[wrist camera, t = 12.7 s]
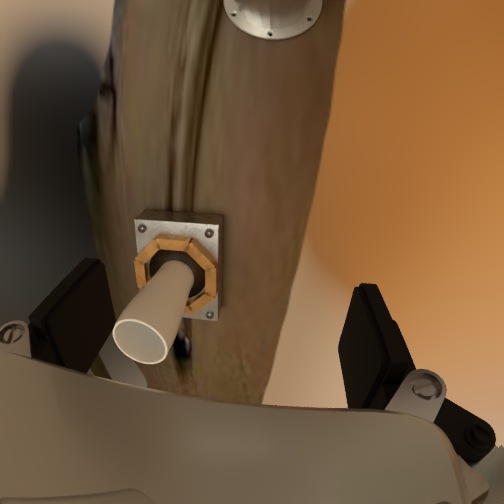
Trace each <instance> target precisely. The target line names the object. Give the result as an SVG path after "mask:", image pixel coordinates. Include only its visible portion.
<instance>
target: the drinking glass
mask: <svg viewBox="0 0 504 504" xmlns="http://www.w3.org/2000/svg"><path fill="white" fill-rule="evenodd" d="M193 284H194V275H193V272H192V270H191V269H190V267H189V266H188V265H186V264H185V263H183V262H181V261H178V260H170V261H167V262H165V263H164V264H163V265H162V266H161V267H160V269H159V270H158V271H157V272H156V274H155V275H154V276H153V277H152V278H151V279H150V280H149V281H148V282H147V284H146V285H145V286H144V287H143V288H142V289H141V290H140V291H139V292H138V293H137V295H136V296H135V297H134V298H133V299H132V300H131V301H130V303H129V304H128V305H127V306H126V308H125V309H124V311H123V312H122V314H121V315H120V317H119V319H118V320H117V322H116V324H115V326H114V328H113V338H114V340H115V343H116V344H117V346H118V347H119V348H120V350H121V351H122V352H123V353H124V354H126V355H127V356H128V357H130V358H132V359H133V360H135V361H138V362H141V363H145V364H155V363H159V362H161V361H163V360H164V359H165V358H166V356H167V354H168V352H169V350H170V348H171V346H172V344H173V342H174V340H175V337H176V335H177V332H178V329H179V326H180V323H181V319H182V316H183V312H184V309H185V306H186V303H187V300H188V296H189V293H190V290H191V288H192V286H193Z"/></svg>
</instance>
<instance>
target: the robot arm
mask: <svg viewBox="0 0 504 504" xmlns="http://www.w3.org/2000/svg"><path fill="white" fill-rule="evenodd" d="M224 7H225V11H226V13H227V15H228V17H229V19H230V20H231V21H232V23H233V24H234V25H235V26H236V27H237V28H238V29H240V30H241V31H243V32H244V33H246V34H248V35H250V36H252V37H255V38H259V39H262V40H271V41H277V40H286V39H290V38H293V37H296V36H299V35H301V34H302V33H304V32H305V31H307V30H308V29H309V28H310V27H311V26H313V24H314V23H315V22H316V20H317V19H318V17H319V15H320V12H321V9H322V0H224ZM234 14H236V16H235V17H233V15H234ZM307 19H311V21H308V20H307ZM270 33H271V34H273V36H269V34H270ZM28 318H29V320H30V324H29V325H27V324H26V323H25V322H22V321H11V322H9V323H6V324H5V325H3V326H2V327H1V328H0V504H504V448H503V446H502V445H501V446H500V447H499V448H498V447H497V446H496V445H495V441H496V437H495V433H494V430H493V428H492V427H491V426H490V425H489V424H488V423H487V422H485V421H484V420H482V419H480V418H479V417H477V416H475V415H474V414H472V413H470V412H468V411H467V410H465V409H463V408H462V407H460V406H458V405H457V404H455V403H453V402H452V401H450V400H448V399H447V398H445V396H446V391H447V390H446V385H445V383H444V381H443V380H442V379H441V378H440V376H439V375H437V374H436V373H434V372H432V371H429V370H426V369H416V368H415V365H414V363H413V360H412V358H411V355H410V353H409V350H408V348H407V346H406V343H405V341H404V338H403V336H402V334H401V331H400V329H399V327H398V324H397V323H396V321H394V320H392V318H391V315H390V313H389V311H388V309H387V306H386V304H385V302H384V300H383V297H382V295H381V293H380V291H379V289H378V286H377V285H376V284H367V283H361V284H360V285H359V287H355V288H354V291H353V295H352V298H351V302H350V306H349V309H348V313H347V317H346V320H345V324H344V327H343V331H342V334H341V337H340V341H339V345H338V353H339V358H340V363H341V369H342V374H343V380H344V386H345V392H346V398H347V404H348V408H314V407H293V406H277V405H263V404H252V403H242V402H233V401H224V400H216V399H209V398H202V397H195V396H189V395H182V394H176V393H171V392H165V391H160V390H155V389H150V388H144V387H140V386H135V385H130V384H126V383H122V382H117V381H113V380H109V379H105V378H101V377H97V376H93V375H90V374H87V372H88V370H89V368H90V367H91V365H92V363H93V361H94V360H95V358H96V356H97V355H98V353H99V351H100V349H101V348H102V346H103V345H104V343H105V341H106V340H107V338H108V336H109V335H110V333H111V332H112V330H113V328H114V326H115V322H116V319H115V314H114V310H113V305H112V301H111V296H110V291H109V286H108V281H107V275H106V270H105V265H104V264H103V263H101V261H100V260H99V259H95V258H85V259H84V260H82V261H81V263H79V264H78V265H77V266H76V267H75V268H74V269H73V270H72V271H71V272H70V274H68V275H67V276H66V277H65V278H64V279H63V280H62V281H61V282H60V284H59V285H58V286H57V287H56V288H55V289H54V290H53V291H52V292H51V293H50V294H49V295H48V296H47V297H46V298H45V299H44V300H43V301H42V303H41V304H40V305H39V306H38V307H37V308H36V309H35V310H34V311H33V312H32V313H31V315H30V316H29V317H28Z"/></svg>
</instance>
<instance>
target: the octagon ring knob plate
mask: <svg viewBox="0 0 504 504" xmlns="http://www.w3.org/2000/svg"><path fill="white" fill-rule="evenodd" d="M134 221H135V232H136V242H137V251H138V255H137V256H136V258H135V260H134V263H135V271H136V278H137V285H138V288H140V289H139V290H141V289H142V288H143V287H144V286H145V285H146V284H147V282H148V281H149V280H150V279H151V278H152V277H153V276H154V275H155V274H156V272H157V271H158V270H159V269H160V267H161V266H162V265H163V264H164V263H165V262H167V261H170V260H178V261H181V262H183V263H185V264H186V265H188V266H189V267H190V269H191V270H192V272H193V275H194V284H193V286H192V288H191V290H190V293H189V296H188V300H187V303H186V306H185V309H184V312H183V316H182V317H187V318H195V319H203V320H212V321H218V318H219V314H220V311H221V307H222V245H223V215H220V214H206V213H191V212H175V211H158V210H144V211H143V212H142V213H141V214H140V215H139V216H137V217H136V218H135V219H134Z"/></svg>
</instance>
